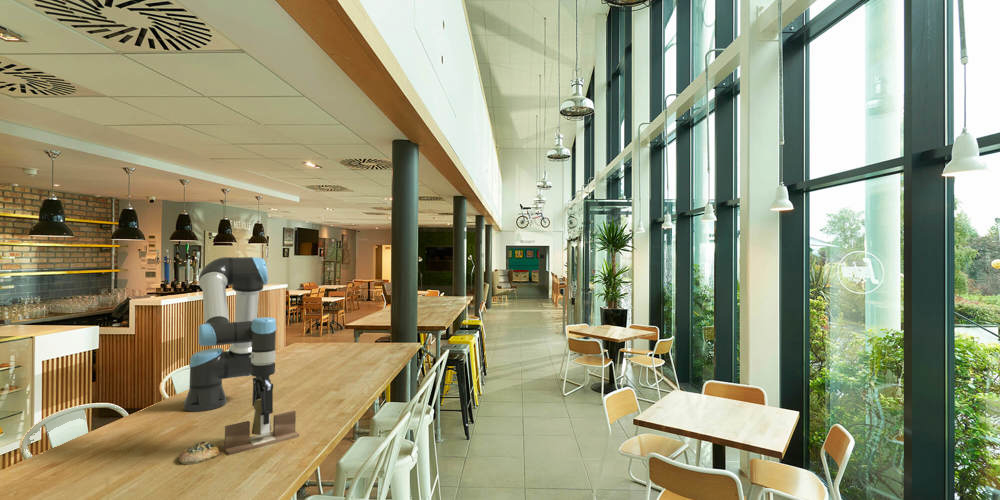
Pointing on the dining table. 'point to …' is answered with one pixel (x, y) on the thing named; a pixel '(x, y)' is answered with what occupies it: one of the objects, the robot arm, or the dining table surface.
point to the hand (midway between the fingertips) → (261, 430)
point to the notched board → (241, 440)
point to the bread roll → (198, 453)
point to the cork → (257, 418)
